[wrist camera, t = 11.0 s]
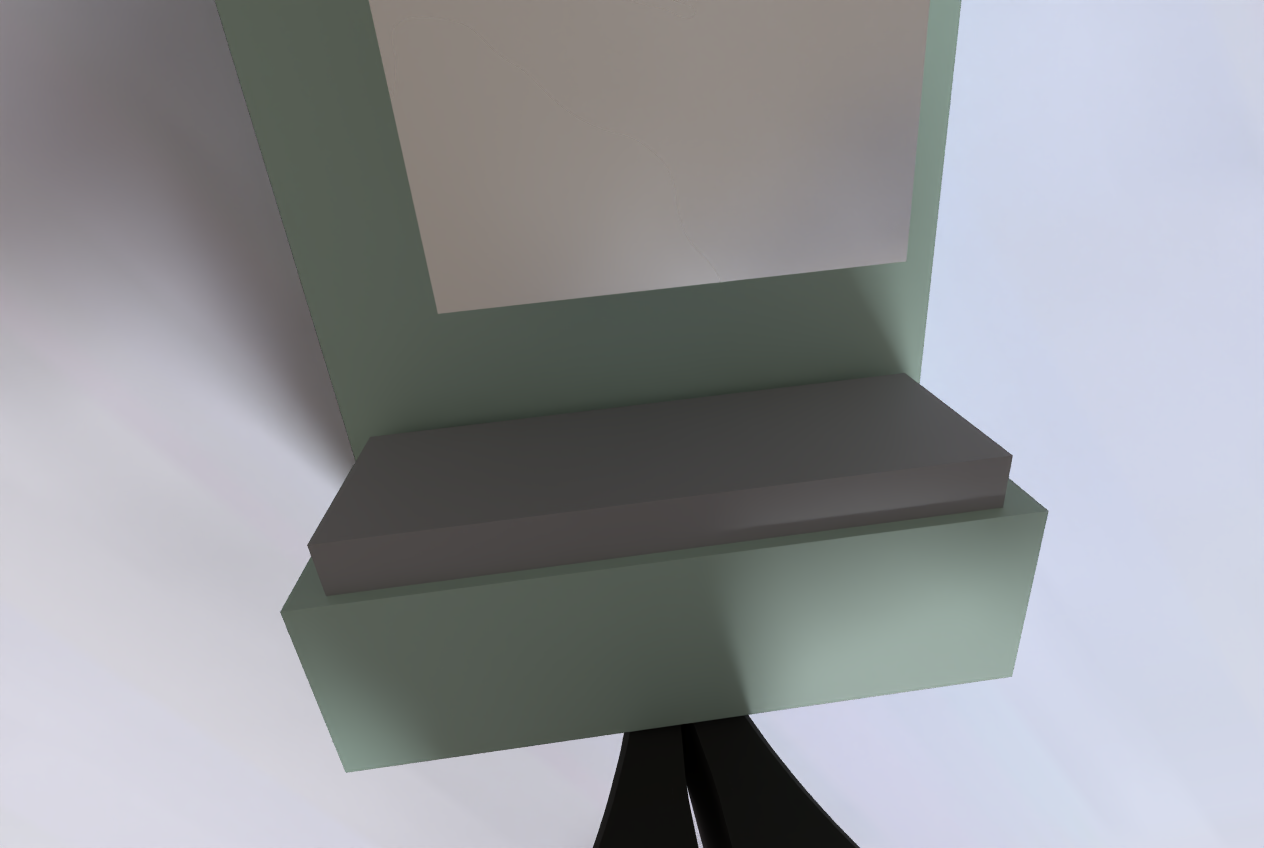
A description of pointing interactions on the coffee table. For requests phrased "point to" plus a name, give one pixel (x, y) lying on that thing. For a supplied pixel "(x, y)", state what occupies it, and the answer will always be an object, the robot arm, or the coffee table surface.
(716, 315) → the vise
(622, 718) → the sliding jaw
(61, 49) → the coffee table surface
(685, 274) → the steel block
